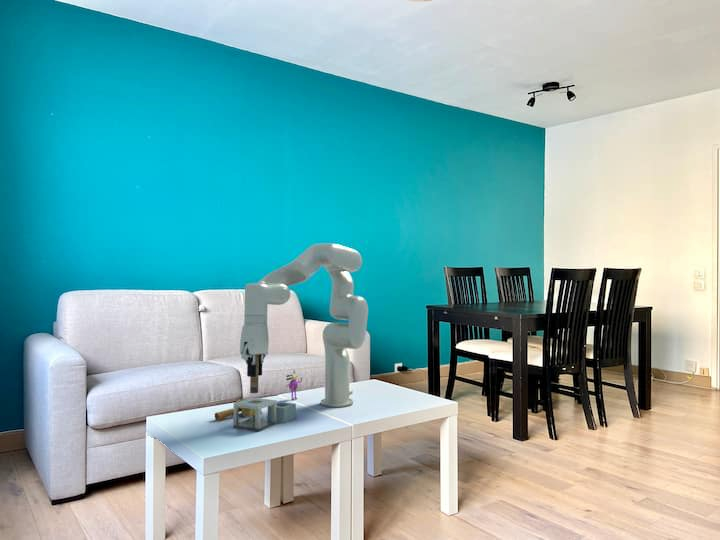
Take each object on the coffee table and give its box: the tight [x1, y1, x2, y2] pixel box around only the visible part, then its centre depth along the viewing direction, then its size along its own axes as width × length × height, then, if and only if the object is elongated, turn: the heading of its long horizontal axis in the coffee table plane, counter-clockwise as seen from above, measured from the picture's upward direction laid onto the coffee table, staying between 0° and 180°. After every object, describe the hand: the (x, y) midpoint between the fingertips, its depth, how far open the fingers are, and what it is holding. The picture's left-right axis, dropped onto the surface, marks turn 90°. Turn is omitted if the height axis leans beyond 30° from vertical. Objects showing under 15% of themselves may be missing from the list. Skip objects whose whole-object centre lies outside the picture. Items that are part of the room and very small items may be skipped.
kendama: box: [214, 396, 258, 422], centre depth 189 cm, size 8×6×18 cm
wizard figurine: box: [284, 369, 303, 401], centre depth 215 cm, size 11×3×12 cm, turn 151°
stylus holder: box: [266, 401, 297, 424], centre depth 185 cm, size 7×7×5 cm
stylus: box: [249, 355, 260, 394], centre depth 177 cm, size 3×3×15 cm
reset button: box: [249, 410, 255, 418], centre depth 177 cm, size 4×4×2 cm
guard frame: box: [232, 396, 278, 433], centre depth 177 cm, size 10×10×8 cm
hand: (254, 375), depth 177 cm, fingers closed on stylus, 2 cm apart
